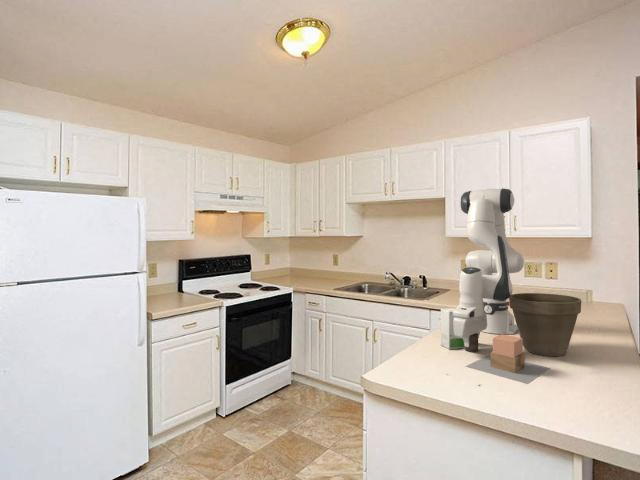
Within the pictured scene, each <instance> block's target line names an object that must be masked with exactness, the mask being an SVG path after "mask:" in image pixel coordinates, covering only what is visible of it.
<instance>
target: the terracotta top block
mask: <svg viewBox="0 0 640 480" xmlns="http://www.w3.org/2000/svg"><path fill="white" fill-rule="evenodd" d="M523 350H524V347H523V338H520V337H517V336H513V335H509V334H498V335H497V336H494V337H492V352H493V353H497V354H501V355H505V356H510V357H516V356H518V355H520V354H522V353H524V352H523Z"/></svg>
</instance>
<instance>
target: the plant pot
mask: <svg viewBox="0 0 640 480" xmlns="http://www.w3.org/2000/svg"><path fill="white" fill-rule="evenodd" d="M508 302H509V304H510V305H509V308H510V309H511V310H512V312H513V316H514V322H515V325H517V327H518V330H517V332H518V333H519V338H523V350H525V351H527V352H529V353H533V354H534V355H539V356H547V357H561V356H565V355H566V354H567V351H568V348H569V345H570V342H571V339H572V336H573V332H574V329H575V325H576V323H577V319H578V315H579V314H580V313H581V312H582V299H581V298H579V297H575V296H570V295H565V294H557V293H544V292H543V293H542V292H541V293H540V292H523V293H522V292H521V293H512V295H511V297H510V298H508Z"/></svg>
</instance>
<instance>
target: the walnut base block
mask: <svg viewBox="0 0 640 480" xmlns="http://www.w3.org/2000/svg"><path fill="white" fill-rule="evenodd" d="M490 354H491V367H493V368H496V369H500V370H504V371H508V372H511V373H517V372H518V371H520V370H522V369H523V368H525V362H526V361H525V360H526V354H525V352H523V353H522V354H520V355H518V356H516V357H510V356H505V355H501V354H497V353H493V351H491V352H490Z"/></svg>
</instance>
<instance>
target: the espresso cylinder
mask: <svg viewBox="0 0 640 480" xmlns="http://www.w3.org/2000/svg"><path fill="white" fill-rule="evenodd" d="M469 342H470V346H469V347H465V348H464V350H465V351H468V352H472V353H473V352H478V351H479V338H478V334H476V333H475V334H473V335H470V336H469Z"/></svg>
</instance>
